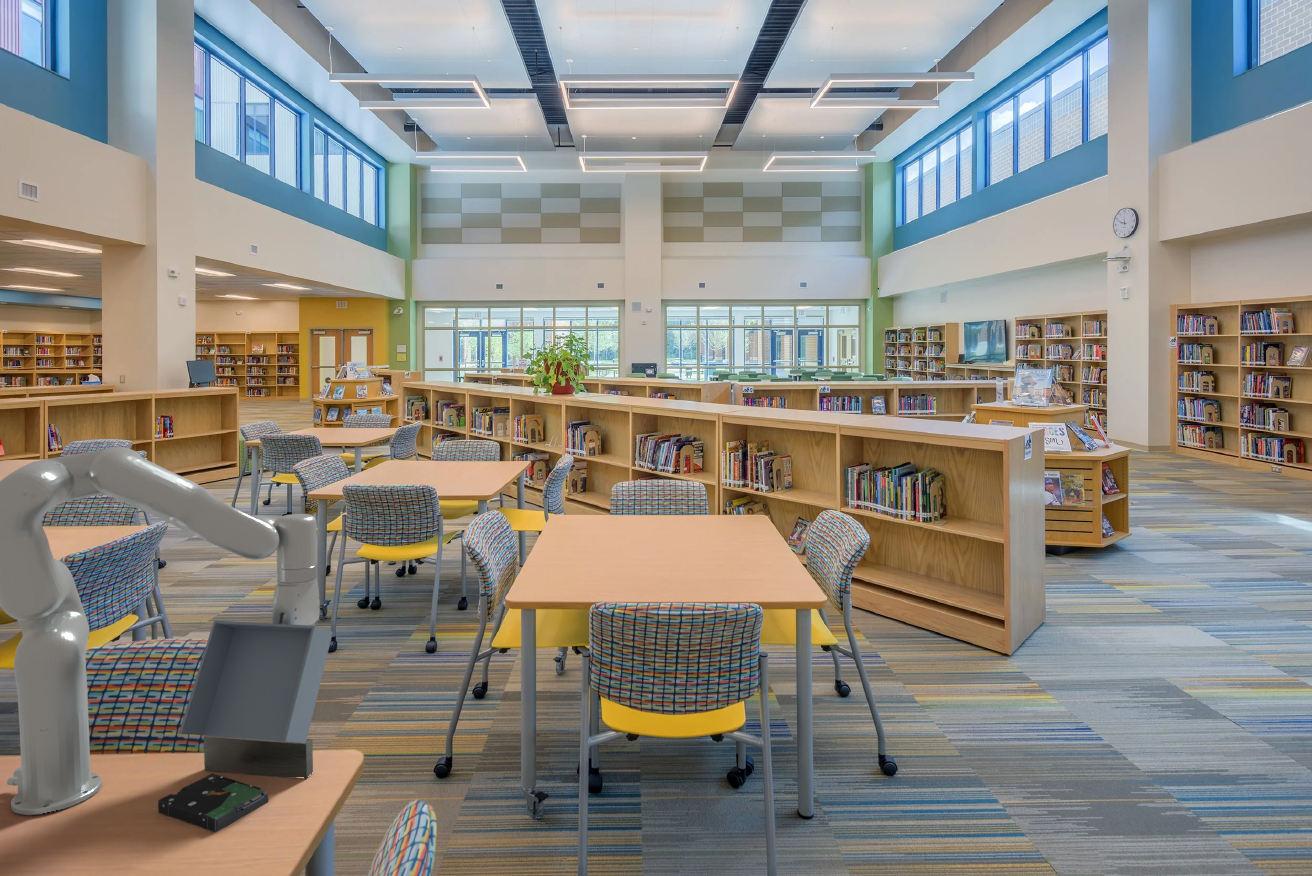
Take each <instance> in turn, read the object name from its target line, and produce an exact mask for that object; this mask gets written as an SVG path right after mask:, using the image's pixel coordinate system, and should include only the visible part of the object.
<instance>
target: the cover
mask: <svg viewBox="0 0 1312 876" xmlns="http://www.w3.org/2000/svg"><path fill="white" fill-rule="evenodd" d="M333 633H334V632H333V631H331V630H329V629H325V628H323V627H320V626H317V625H314V626H310V625H291V624H272V622H269V623H268V622H252V621H251V622H249V621H232V620H230V621H228V620H213V623H212V627H211V629H210V632H209V635H208V638H207V642H206V645H205V649H204V651H203V655H202V658H201V661H200V664H199V669H198V672H197V674H196V677H195V680H194V684H193V687H192V689H191V693H190V697H189V700H188V703H187V707H186V709H185V712H184V716H183V718H182V719H183V720H182V722H181V726H180V729H179V733H178V734H179V735H190V736H191V735H192V736H203V737H204V736H218V737H232V738H246V739H260V740H273V741H287V742H301V743H306V740H307V739H308V736H309V731H310V728H311V723H312V719H313V716H314V711H315V706H316V703H317V698H318V695H319V690H320V685H321V682H322V678H323V673H324V669H325V665H326V661H327V658H328V653H329V650H330V645H331V641H332V637H333Z"/></svg>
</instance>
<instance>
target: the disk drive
mask: <svg viewBox="0 0 1312 876" xmlns="http://www.w3.org/2000/svg"><path fill="white" fill-rule="evenodd" d="M267 803H269V793H267V791H266V790H265V789H262V787H259V786H255V785H251V784H248V783H247V782H246V783H245V782H242V781H239V780H236V779H233V778H230V777H229V778H228V777H227V776H223V775H221V774H220V775H219V774H216V773H215V774H214V772H212V773H211V774H208V775H206V776H204V777H202V778H201V779H199V780H196V781H194V782H192V783H190V784H188V785H186V786H184V787H182V788H181V789H180V791H178V792H177V793H176V794H172V793H170V794H168V795H166V796H164V797H162V798H159V799H158V800H157V808H158V809H157V810H158V814H162V815H164V816H166V817H170V818H173V819H176V820H179V821H182V822H184V823H188V824H190V825H193V826H197V827H199V828H202V829H203V830H206V831H210V832H212V833H218V832H220V831H221V830H223V829H225V828H226V827H228V826H230V825H231V824H233V823H235V822H237V821H238V820H241V819H242V818H243V817H245V816H247V815H249V814H251V813H252V812H254V811H256V810H257V809H259V808H261V807H262V806H265V805H266V804H267Z"/></svg>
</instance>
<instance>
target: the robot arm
mask: <svg viewBox="0 0 1312 876" xmlns="http://www.w3.org/2000/svg"><path fill="white" fill-rule="evenodd" d="M100 495H106V496H108V497H110V498H112V499H115V500H117V501H119V502H121V503H123V504H127V505H128V506H131V507H134V508H136V509H138V510H140V511H142V512H145V513H147V514H150V515H152V516H153V517H156V518H158V519H159V520H162V521H165V522H166V523H169V524H171V525H173V526H175V527H176V528H178V529H180V530H182V531H185V532H187V533H189V534H191V535H194V536H196V537H198V538H199V539H202V540H203V541H206V542H208V543H210V544H213V545H214V546H216V547H219V548H220V549H223V550H225V551H227V552H229V553H232V554H234V555H236V556H239V557H241V558H243V559H246V560H252V561H260V560H264V559H266V558H269V557H271V556H272V555H273V554H274V553H275V552H276V583H277V584H276V585H275V588H274V593H273V600H272V602H273V603H272V612H271V613H272V616H271V617H272V618H271V619H272V620H271V623H272V624H291V625H310V626H316V622H317V621H319V619H320V611H321V609H320V608H321V607H320V604H321V601H320V591H319V583H318V536H317V535H318V528H317V527H318V525H317V519H316V518H315V516H314V515H313V514H307V513H292V514H285V515H283V516H279V515H278V516H277V515H260V514H259V515H258V514H256V515H250V514H247V513H246V512H243V511H241V510H239V509H237V508H235V507H233V506H231V505H230V504H228V503H226V502H224V501H223V500H220V499H219V498H218V497H216V496H215V495H213V494H212V493H211V492H210V491H209V490H207V489H206V488H205V487H203V486H201V485H200V484H198V483H197V482H194V481H193V480H190V479H188V478H186V477H183V476H181V475H180V474H177V473H175V472H173V471H171V470H168V469H166V468H165V467H162V466H160V465H158V464H156V463H154V462H152V461H150V460H148V459H146V458H144V457H142V456H141V454H139V453H138V452H137V451H136V450H133V449H131V448H128V447H124V446H115V447H109V448H105V449H104V448H102V449H99V450H93V451H88V452H82V453H76V454H71V455H65V456H58V457H54V458H53V457H52V458H47V459H46V458H45V459H40V460H36V461H32V462H30V463H27V464H25V465H23V466H20V467H19V468H17V469H15V470H14V471H12V472H10V473H9V474H8V475H6V476H5V477H4V478H2V479H1V480H0V608H1V610H3V612H4V613H5V614H6V615H7V616H9V617H11V618H12V619H15V620H16V621H17V622H18V625H19V628H20V631H21V634H22V637H21V639H20V641H19V643H18V645H17V647H16V649H15V654H14V660H13V670H14V678H15V679H14V680H15V685H16V692H17V704H18V705H17V708H18V710H17V711H18V721H19V722H18V723H19V724H18V725H19V744H20V766H21V767H18V768H16V769H15V770H14V771H13V776H10V777H9V778H8V779H7V780H6V785H8V786H17V793H16V794H15V795H14V796H13V797H12V799H11V802H10V806H11V808H10V809H11V810H12V812H14V813H16V814H19V815H23V816H24V815H25V816H36V815H43V813H45V814H48V813H47V812H50V813H52V812H51V811H54V812H57V811H56V810H58V811H61V809H62V810H64V809H68V808H70V807H72V806H75V805H77V804H80V803H82V802H84V801H86V800H87V799H89V798H91V797H92V796H93V795H95V794H96V793H97V792H98V791H100V789H101V787H102V783H103V782H102V777H101V775H99V774H98V773H95V772H92V771H91V753H90V752H91V751H90V750H91V749H90V748H91V747H90V726H89V723H90V722H89V703H88V702H89V701H88V700H89V699H88V681H87V680H88V679H87V678H88V677H87V665H86V664H87V663H86V659H87V653H86V652H87V647H88V642H89V639H90V625H89V622H88V618H87V615H86V612H85V610H84V606H83V604H82V600H81V598H80V594H79V592H78V589H77V586H76V582H75V579H74V577H73V575H72V572H71V571H70V569H69V568H68V566H67V565H66V564H65V563H63V562H62V561H61V560H58V559H56V558H55V557H54V556H53V552H52V550H51V547H50V546H51V545H50V542H49V540H48V537H47V534H46V532H45V530H44V527H43V520H44V516H45V514H47V513H48V512H50V511H51V510H54V508H56V507H58V506H59V505H60V504H61V503H66V502H71V501H75V500H80V499H81V500H82V499H86V498H90V497H95V496H100Z"/></svg>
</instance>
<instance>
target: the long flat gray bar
mask: <svg viewBox="0 0 1312 876" xmlns="http://www.w3.org/2000/svg"><path fill="white" fill-rule="evenodd" d="M313 751H314V750H313V739H312V738H307V740H306V743H301V742H287V741H273V740H260V739H246V738H232V737H218V736H204V735H203V755H204V757H203V758H204V771H205V772H210V773H211V772H212V773H226V774H236V775H237V774H239V775H249V776H250V775H251V776H260V777H261V776H262V777H274V776H278V777H277V778H286V777H304V778H307V777H308V776H309V775H310V774H312V772H313V773H314V757H313V756H314V755H313ZM312 775H313V774H312Z"/></svg>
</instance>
